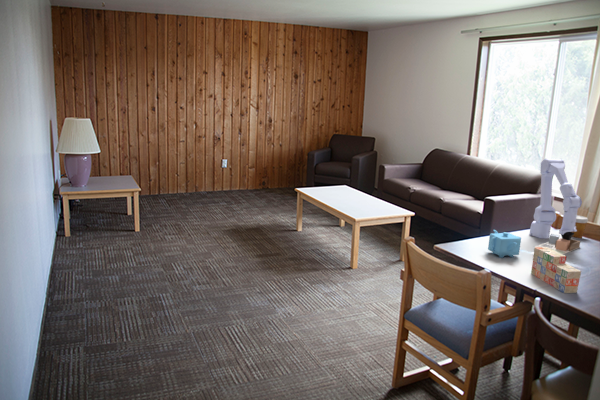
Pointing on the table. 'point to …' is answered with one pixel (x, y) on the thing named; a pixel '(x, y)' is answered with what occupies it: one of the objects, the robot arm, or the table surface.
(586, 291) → the table surface
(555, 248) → the deck
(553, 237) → the white block
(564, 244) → the terracotta cube
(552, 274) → the stack of blocks
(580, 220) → the disposable coffee cup
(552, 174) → the robot arm
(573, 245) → the walnut cubby
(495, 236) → the teapot
